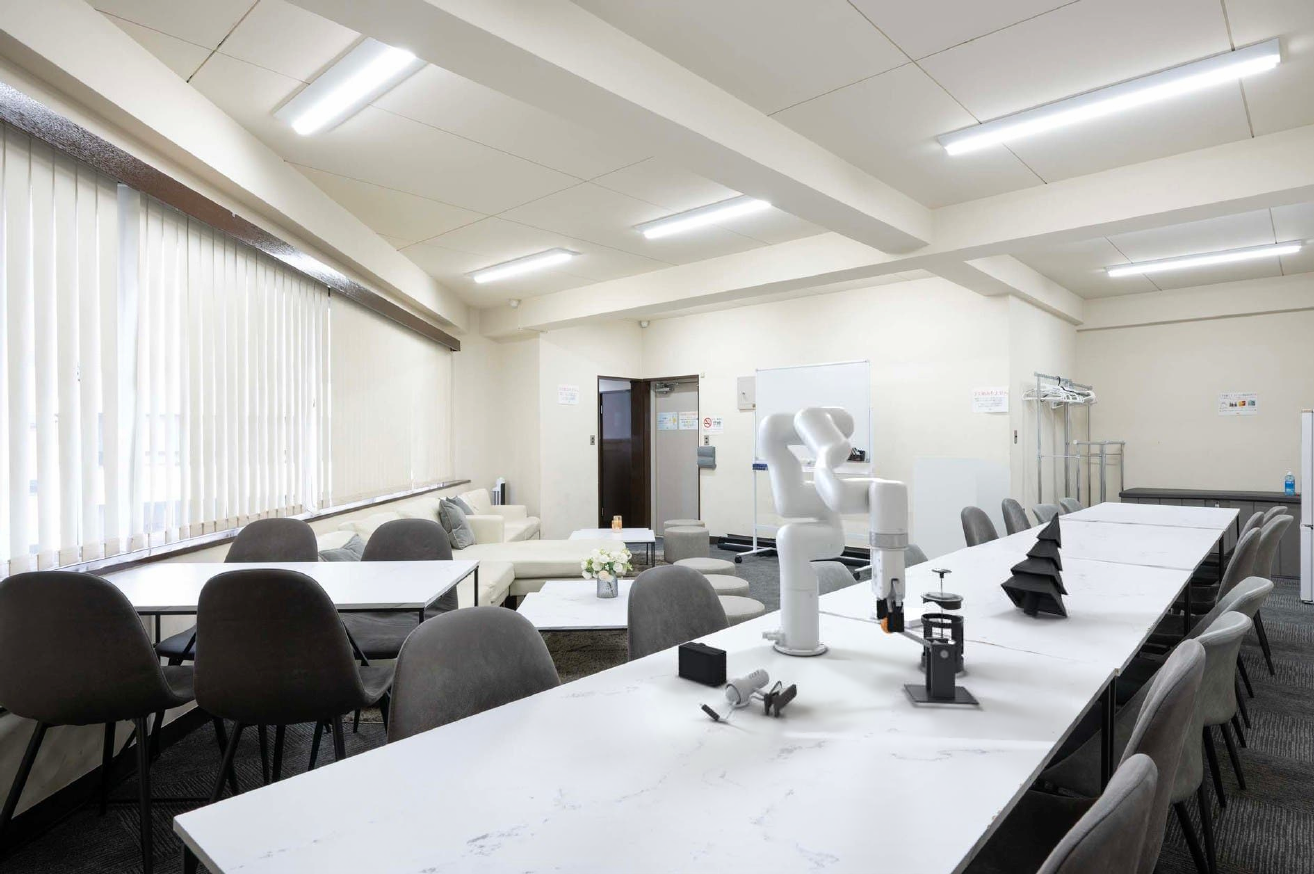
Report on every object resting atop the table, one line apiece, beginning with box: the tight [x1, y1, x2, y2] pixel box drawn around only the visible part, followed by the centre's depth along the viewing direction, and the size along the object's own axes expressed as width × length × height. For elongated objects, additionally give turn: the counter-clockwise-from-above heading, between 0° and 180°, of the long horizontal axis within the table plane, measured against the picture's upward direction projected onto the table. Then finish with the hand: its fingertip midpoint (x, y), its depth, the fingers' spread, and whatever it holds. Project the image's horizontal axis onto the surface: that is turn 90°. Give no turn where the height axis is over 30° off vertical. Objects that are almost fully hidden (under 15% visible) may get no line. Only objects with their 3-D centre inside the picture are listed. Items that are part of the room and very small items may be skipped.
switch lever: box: [880, 618, 940, 651], centre depth 139 cm, size 14×3×3 cm, turn 84°
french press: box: [920, 568, 965, 674], centre depth 155 cm, size 12×9×23 cm
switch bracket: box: [903, 636, 980, 706], centre depth 138 cm, size 12×9×12 cm
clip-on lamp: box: [698, 668, 798, 722], centre depth 132 cm, size 12×6×18 cm
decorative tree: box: [999, 511, 1069, 618], centre depth 207 cm, size 15×15×35 cm
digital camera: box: [677, 641, 728, 688], centre depth 150 cm, size 10×5×7 cm, turn 47°
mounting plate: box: [871, 605, 939, 629], centre depth 199 cm, size 18×13×2 cm
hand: (890, 625), depth 139 cm, fingers open, 9 cm apart
